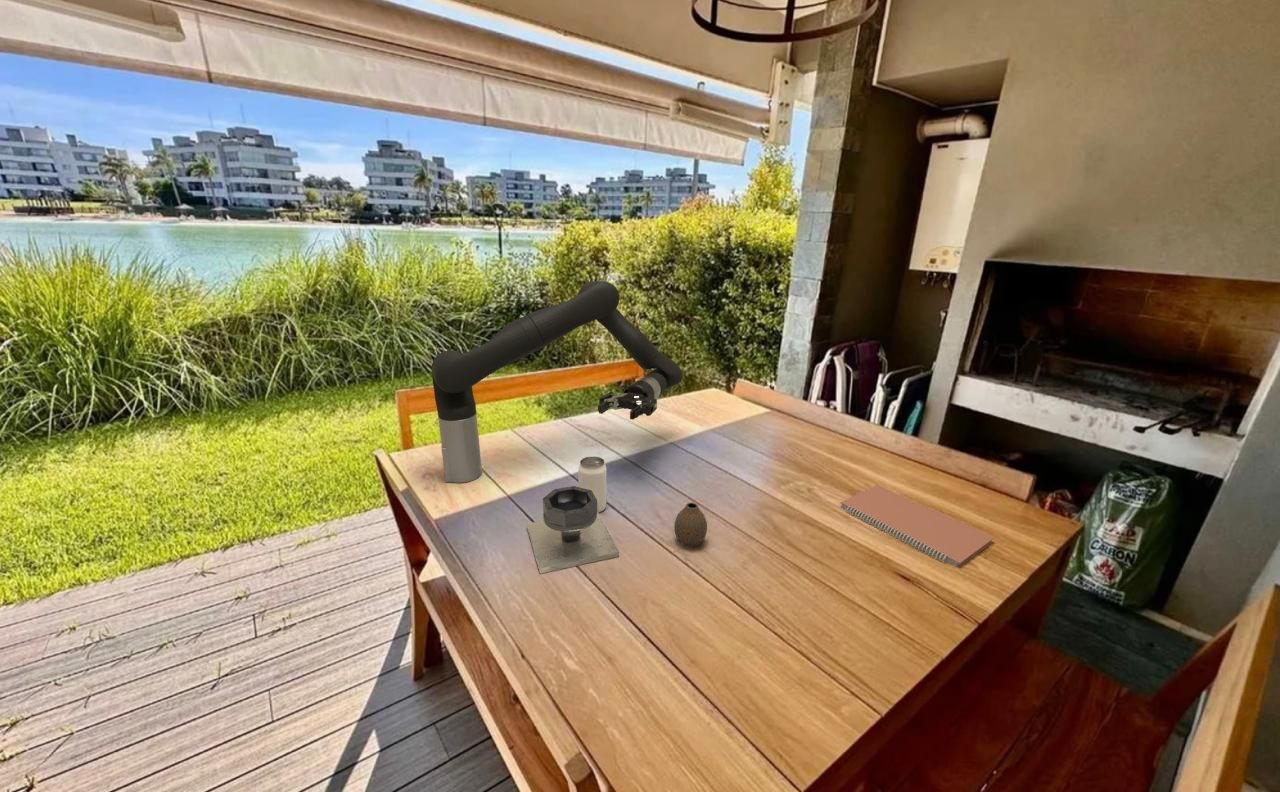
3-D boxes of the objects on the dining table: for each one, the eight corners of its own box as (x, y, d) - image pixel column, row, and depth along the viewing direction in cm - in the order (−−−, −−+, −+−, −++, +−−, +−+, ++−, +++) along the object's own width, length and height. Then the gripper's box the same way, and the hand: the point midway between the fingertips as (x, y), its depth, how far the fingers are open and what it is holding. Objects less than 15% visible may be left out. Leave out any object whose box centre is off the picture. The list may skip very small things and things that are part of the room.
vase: (708, 535, 109) (711, 500, 106) (702, 553, 102) (704, 517, 100) (678, 528, 111) (680, 494, 108) (669, 546, 105) (671, 510, 102)
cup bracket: (540, 573, 96) (537, 528, 92) (527, 528, 110) (524, 487, 106) (618, 556, 101) (619, 512, 98) (597, 515, 115) (596, 475, 112)
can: (602, 516, 115) (602, 469, 111) (575, 512, 116) (574, 466, 112) (609, 501, 121) (609, 457, 117) (583, 498, 122) (583, 454, 118)
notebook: (836, 509, 120) (837, 502, 120) (875, 490, 129) (877, 483, 129) (955, 572, 99) (957, 563, 99) (992, 544, 108) (994, 536, 108)
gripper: (618, 376, 136) (589, 394, 122) (667, 383, 131) (642, 402, 117) (619, 402, 139) (590, 422, 125) (666, 410, 133) (641, 432, 119)
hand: (615, 412), depth 121 cm, fingers open, 8 cm apart
